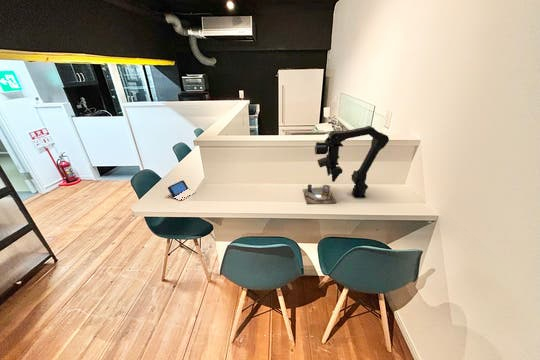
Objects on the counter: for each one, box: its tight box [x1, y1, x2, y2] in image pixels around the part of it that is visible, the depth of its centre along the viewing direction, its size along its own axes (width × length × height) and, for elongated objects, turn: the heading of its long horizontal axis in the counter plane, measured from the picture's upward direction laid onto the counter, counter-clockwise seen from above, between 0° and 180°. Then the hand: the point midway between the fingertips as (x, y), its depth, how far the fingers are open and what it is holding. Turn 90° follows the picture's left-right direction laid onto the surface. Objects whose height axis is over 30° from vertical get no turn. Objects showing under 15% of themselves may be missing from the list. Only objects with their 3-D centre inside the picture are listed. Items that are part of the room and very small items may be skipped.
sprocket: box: [306, 183, 333, 201], centre depth 129 cm, size 16×15×6 cm
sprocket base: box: [302, 188, 337, 205], centre depth 131 cm, size 17×17×1 cm
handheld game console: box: [167, 179, 189, 201], centre depth 135 cm, size 12×11×7 cm
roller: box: [322, 184, 331, 195], centre depth 127 cm, size 4×4×5 cm
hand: (330, 178), depth 127 cm, fingers open, 9 cm apart
